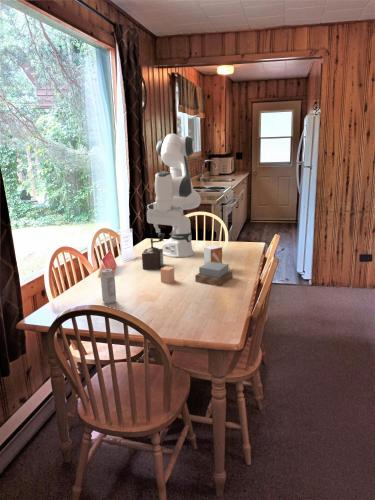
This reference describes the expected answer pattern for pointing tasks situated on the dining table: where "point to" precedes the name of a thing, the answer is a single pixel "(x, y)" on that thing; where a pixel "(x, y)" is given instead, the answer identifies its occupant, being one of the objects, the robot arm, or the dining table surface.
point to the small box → (213, 254)
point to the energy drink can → (108, 286)
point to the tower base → (214, 279)
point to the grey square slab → (213, 269)
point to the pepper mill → (153, 255)
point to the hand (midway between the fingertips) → (165, 233)
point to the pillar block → (167, 274)
